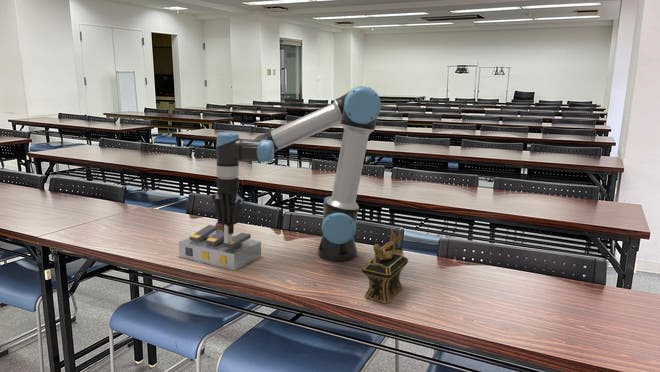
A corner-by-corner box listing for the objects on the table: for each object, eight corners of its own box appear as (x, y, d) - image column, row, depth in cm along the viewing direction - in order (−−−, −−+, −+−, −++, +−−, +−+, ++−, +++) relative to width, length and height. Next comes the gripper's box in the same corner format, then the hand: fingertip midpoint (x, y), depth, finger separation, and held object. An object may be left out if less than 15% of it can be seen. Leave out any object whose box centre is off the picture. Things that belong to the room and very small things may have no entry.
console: (261, 256, 178) (261, 239, 176) (233, 270, 164) (233, 252, 162) (208, 244, 189) (208, 228, 188) (178, 257, 175) (177, 239, 174)
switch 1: (217, 229, 182) (216, 226, 182) (198, 242, 173) (197, 238, 173) (209, 227, 184) (208, 224, 184) (189, 240, 175) (189, 236, 174)
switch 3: (250, 237, 175) (250, 233, 175) (231, 248, 166) (231, 244, 165) (242, 236, 177) (241, 232, 177) (223, 246, 168) (222, 242, 167)
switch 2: (233, 232, 179) (233, 229, 178) (214, 245, 170) (214, 241, 169) (225, 231, 180) (224, 227, 180) (206, 243, 171) (205, 240, 171)
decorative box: (388, 307, 139) (391, 244, 135) (359, 299, 144) (361, 238, 140) (411, 284, 156) (415, 227, 152) (384, 277, 161) (387, 222, 157)
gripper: (249, 177, 163) (249, 242, 167) (220, 173, 168) (220, 236, 173) (235, 181, 156) (236, 248, 161) (205, 176, 162) (206, 241, 167)
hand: (228, 241), depth 167 cm, fingers closed
